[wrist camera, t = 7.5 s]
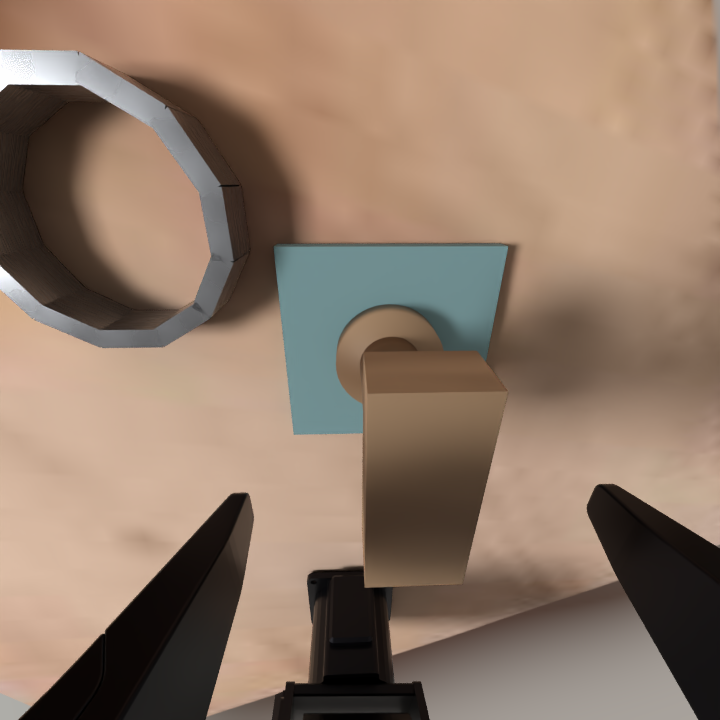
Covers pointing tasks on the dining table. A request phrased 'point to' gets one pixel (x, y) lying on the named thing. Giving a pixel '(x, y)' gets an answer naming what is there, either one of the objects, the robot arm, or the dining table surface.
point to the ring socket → (21, 237)
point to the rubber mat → (368, 289)
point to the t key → (418, 444)
